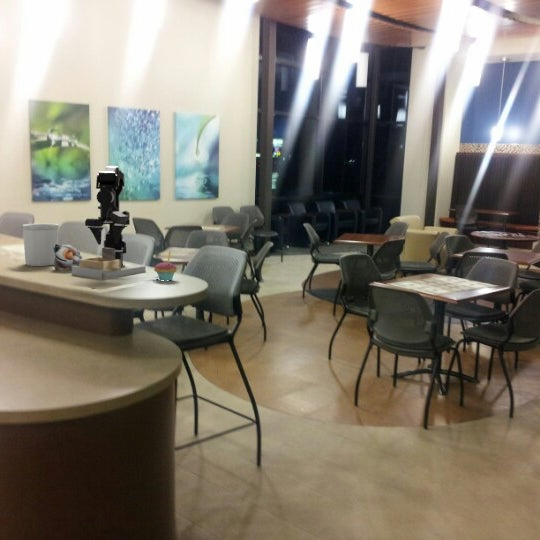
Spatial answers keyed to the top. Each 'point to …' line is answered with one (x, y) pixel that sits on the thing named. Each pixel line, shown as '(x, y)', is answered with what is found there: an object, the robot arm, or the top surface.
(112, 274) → the tray
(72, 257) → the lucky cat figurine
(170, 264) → the cupcake
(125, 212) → the robot arm
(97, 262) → the crate
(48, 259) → the utensil holder
